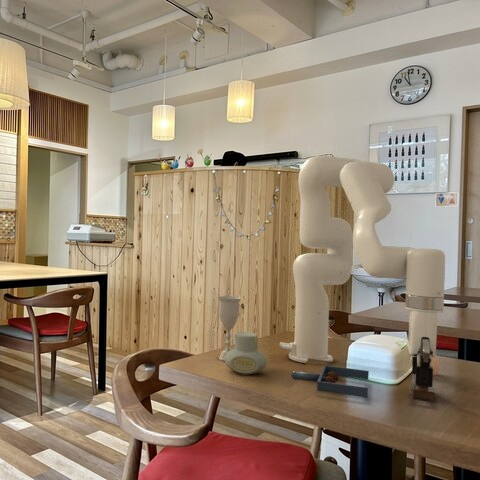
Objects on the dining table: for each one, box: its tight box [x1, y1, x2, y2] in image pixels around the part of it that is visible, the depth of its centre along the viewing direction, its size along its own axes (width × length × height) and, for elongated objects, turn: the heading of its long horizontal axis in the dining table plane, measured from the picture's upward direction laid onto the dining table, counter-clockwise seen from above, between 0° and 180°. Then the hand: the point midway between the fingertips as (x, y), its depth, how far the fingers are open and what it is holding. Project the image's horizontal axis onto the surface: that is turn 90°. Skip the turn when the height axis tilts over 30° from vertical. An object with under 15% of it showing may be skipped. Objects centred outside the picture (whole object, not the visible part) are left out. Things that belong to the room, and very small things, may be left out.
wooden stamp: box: [411, 379, 435, 403], centre depth 108 cm, size 4×8×8 cm, turn 155°
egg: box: [432, 353, 441, 377], centre depth 127 cm, size 6×6×8 cm
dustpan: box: [290, 365, 370, 399], centre depth 116 cm, size 18×16×3 cm
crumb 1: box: [323, 375, 336, 383], centre depth 114 cm, size 3×3×3 cm
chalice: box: [217, 295, 242, 362], centre depth 142 cm, size 7×7×18 cm
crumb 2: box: [325, 372, 339, 382], centre depth 119 cm, size 3×3×3 cm
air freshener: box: [224, 331, 268, 376], centre depth 128 cm, size 11×8×10 cm
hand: (421, 380), depth 108 cm, fingers open, 9 cm apart
